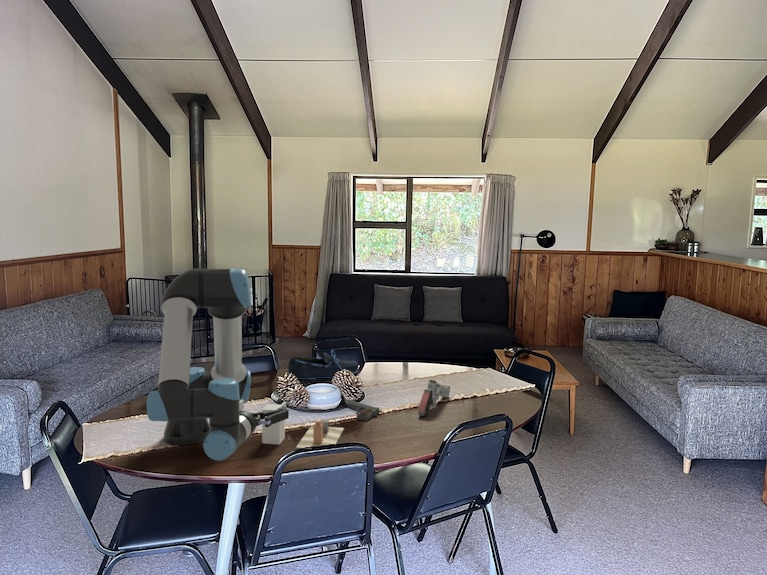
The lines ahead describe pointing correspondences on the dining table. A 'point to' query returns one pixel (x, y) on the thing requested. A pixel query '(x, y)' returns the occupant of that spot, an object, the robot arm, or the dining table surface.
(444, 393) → the revolver
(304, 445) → the board
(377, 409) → the handgun
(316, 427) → the post
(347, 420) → the dining table surface
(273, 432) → the tall cream block
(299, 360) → the moccasin
